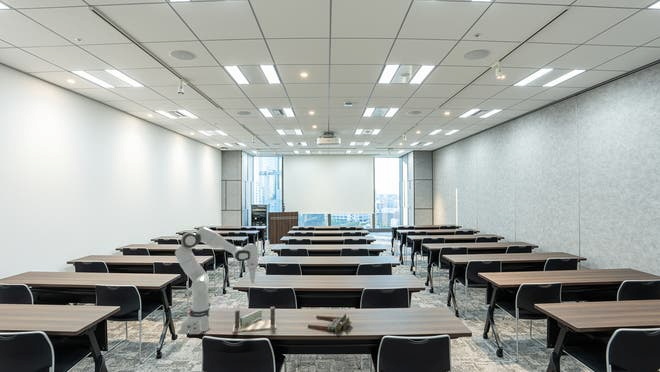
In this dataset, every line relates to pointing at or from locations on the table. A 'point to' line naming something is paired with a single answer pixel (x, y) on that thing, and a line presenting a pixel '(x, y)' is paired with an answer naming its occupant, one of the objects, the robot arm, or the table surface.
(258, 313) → the gate panel
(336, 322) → the miniature gate
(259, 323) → the base
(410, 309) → the table surface
